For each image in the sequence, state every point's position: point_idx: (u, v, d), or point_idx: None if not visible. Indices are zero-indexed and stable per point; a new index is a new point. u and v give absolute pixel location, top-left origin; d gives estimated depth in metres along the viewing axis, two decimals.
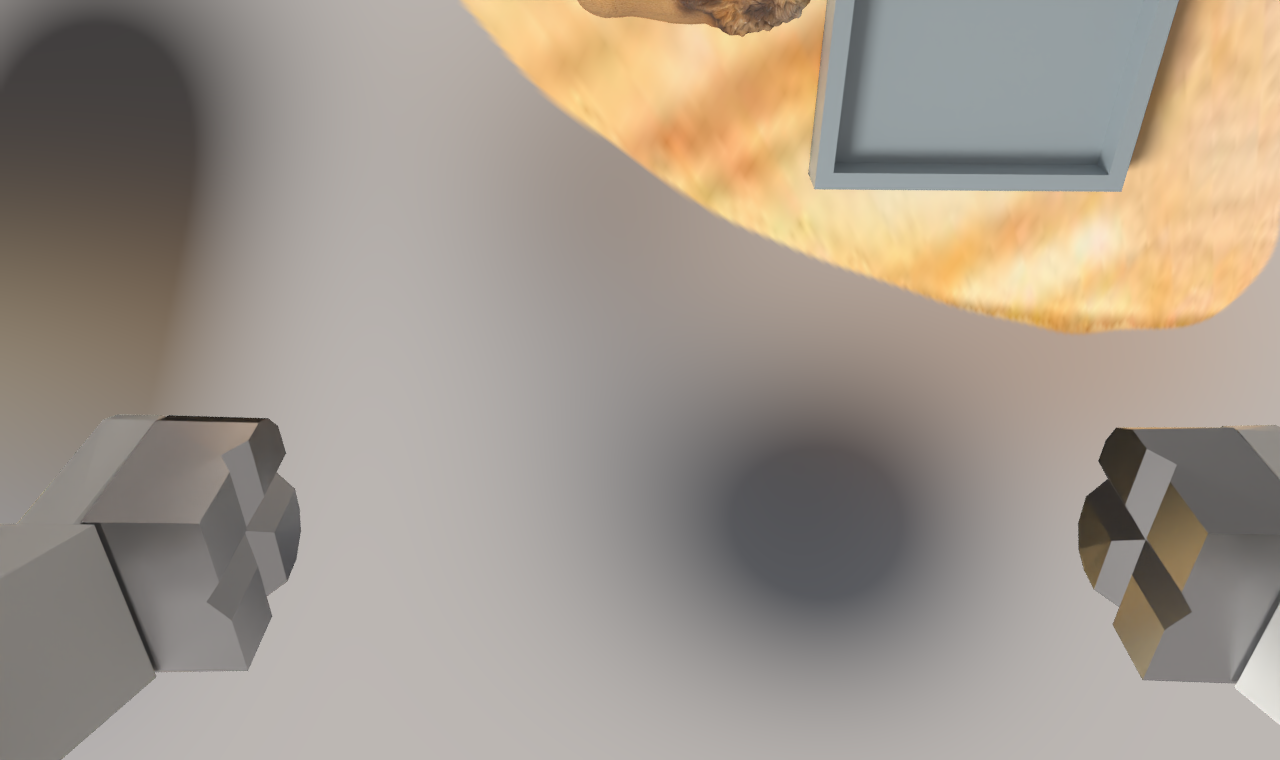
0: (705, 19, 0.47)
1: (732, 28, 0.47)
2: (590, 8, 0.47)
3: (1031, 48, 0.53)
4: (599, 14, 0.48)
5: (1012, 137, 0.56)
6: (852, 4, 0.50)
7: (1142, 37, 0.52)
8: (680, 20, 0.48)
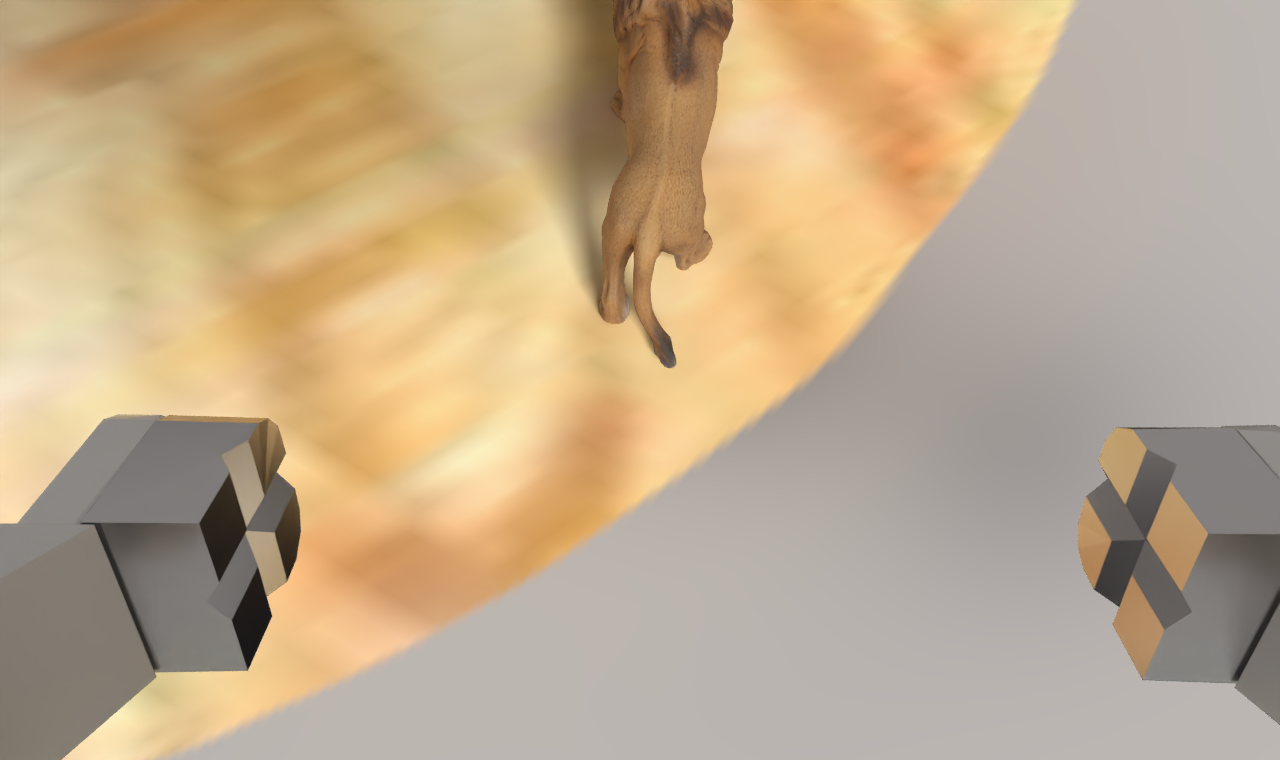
0: (706, 44, 0.30)
1: None
2: (686, 215, 0.29)
3: None
4: (697, 207, 0.30)
5: None
6: None
7: None
8: (709, 88, 0.30)
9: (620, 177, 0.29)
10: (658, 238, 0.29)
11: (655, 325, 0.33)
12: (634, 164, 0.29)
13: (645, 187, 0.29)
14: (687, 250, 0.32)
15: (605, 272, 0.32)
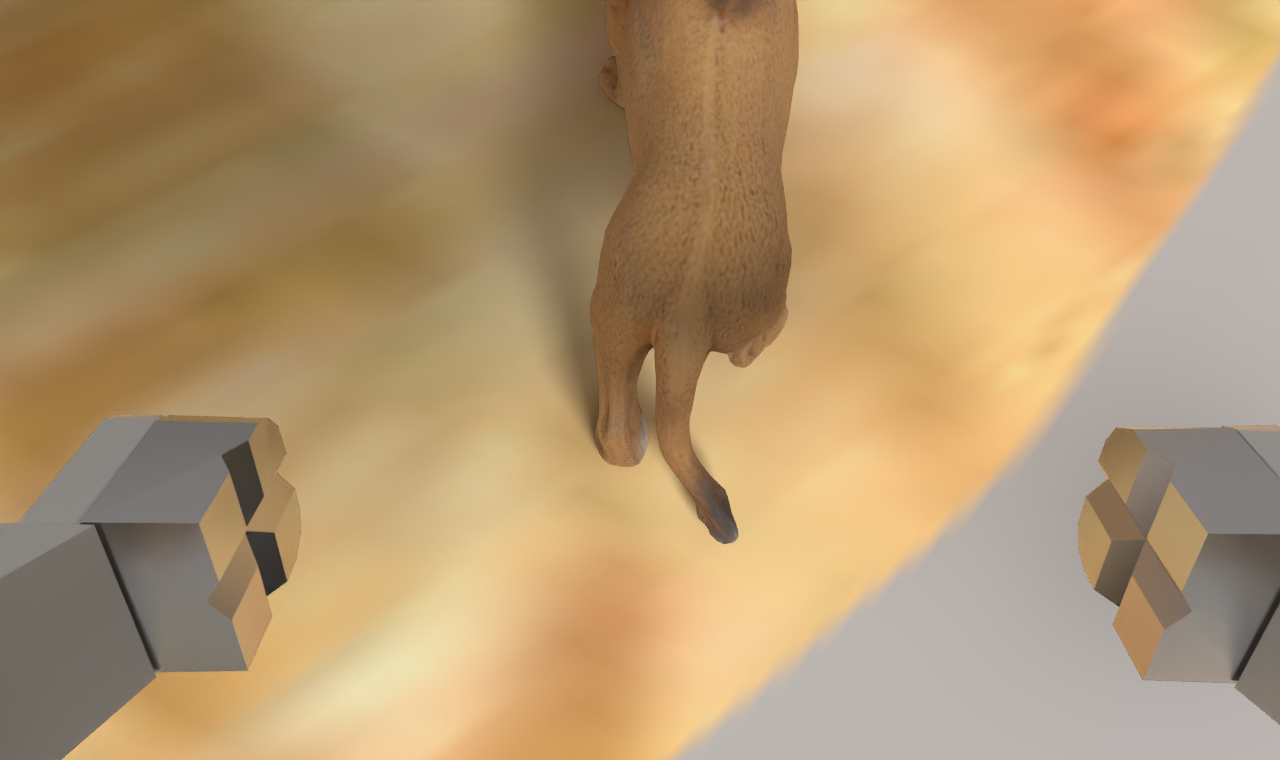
0: None
1: None
2: (760, 283, 0.14)
3: None
4: (779, 263, 0.15)
5: None
6: None
7: None
8: (786, 25, 0.15)
9: (620, 211, 0.14)
10: (704, 332, 0.14)
11: (699, 476, 0.18)
12: (648, 183, 0.14)
13: (673, 230, 0.14)
14: (753, 338, 0.17)
15: (601, 386, 0.17)
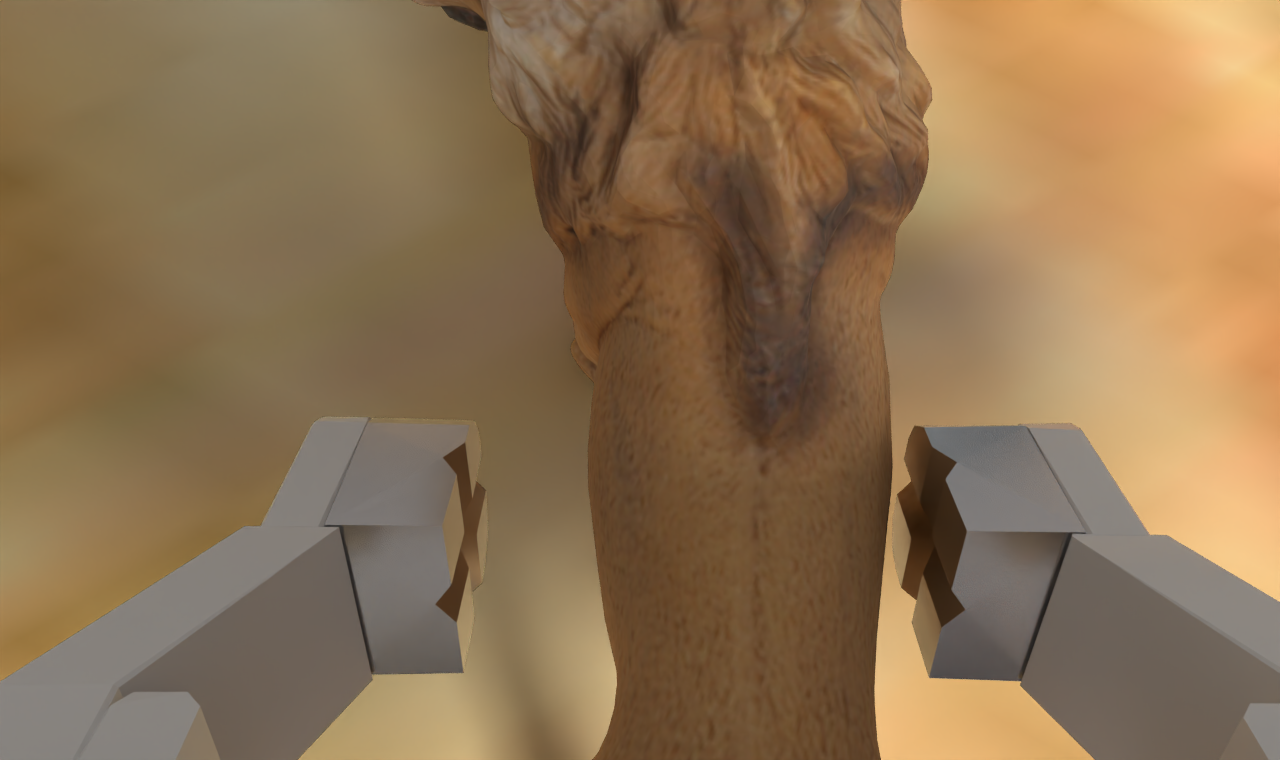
0: (861, 281, 0.08)
1: (895, 111, 0.08)
2: None
3: None
4: None
5: None
6: None
7: None
8: (876, 428, 0.09)
9: None
10: None
11: None
12: None
13: None
14: None
15: None
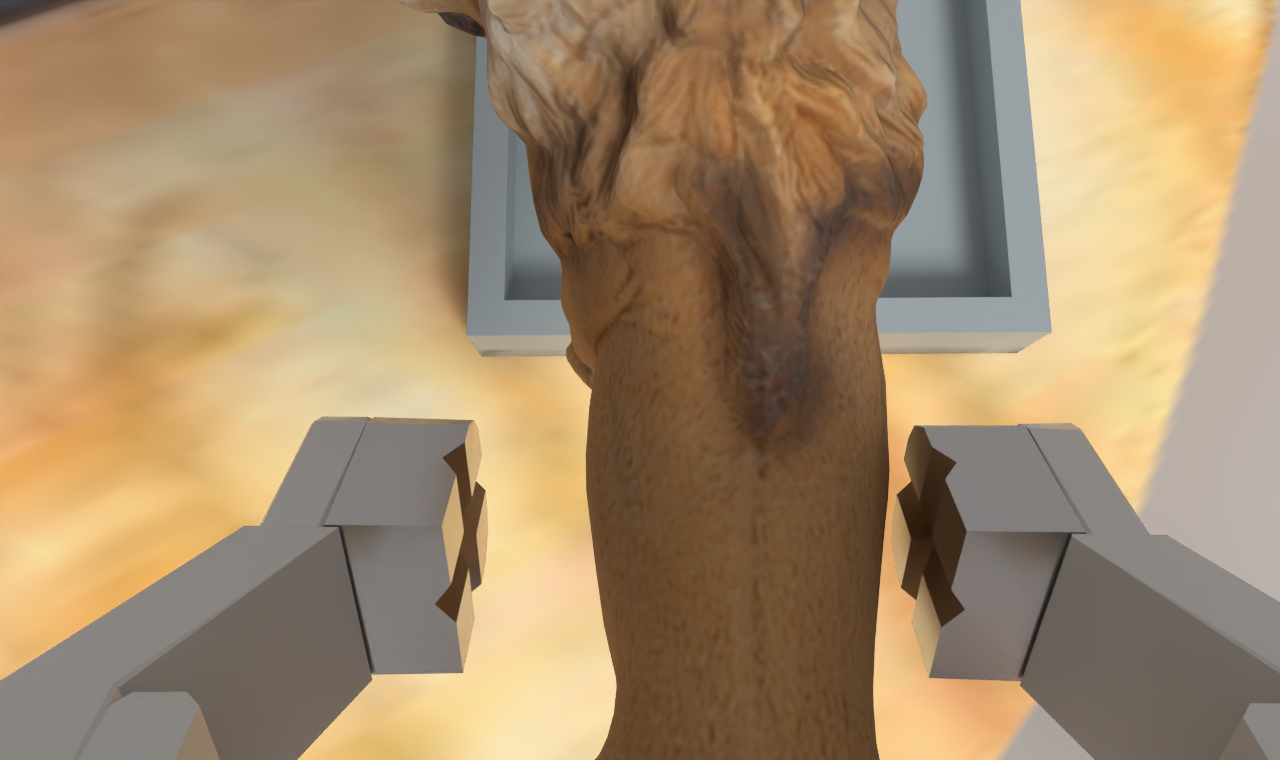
0: (856, 286, 0.09)
1: (892, 116, 0.08)
2: None
3: None
4: None
5: None
6: None
7: None
8: (872, 432, 0.09)
9: None
10: None
11: None
12: None
13: None
14: None
15: None
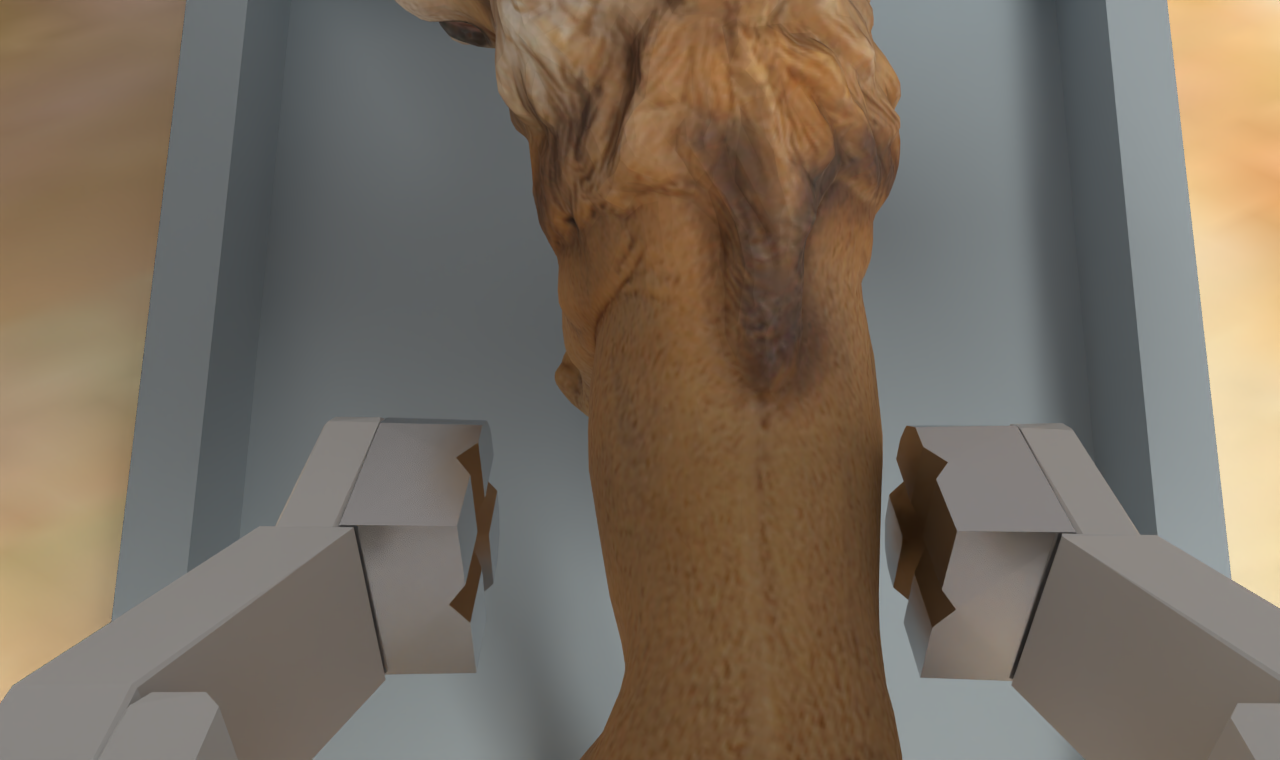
0: (846, 252, 0.09)
1: (871, 94, 0.09)
2: None
3: None
4: None
5: (984, 261, 0.16)
6: None
7: None
8: (866, 392, 0.09)
9: None
10: None
11: None
12: (648, 745, 0.07)
13: None
14: None
15: None
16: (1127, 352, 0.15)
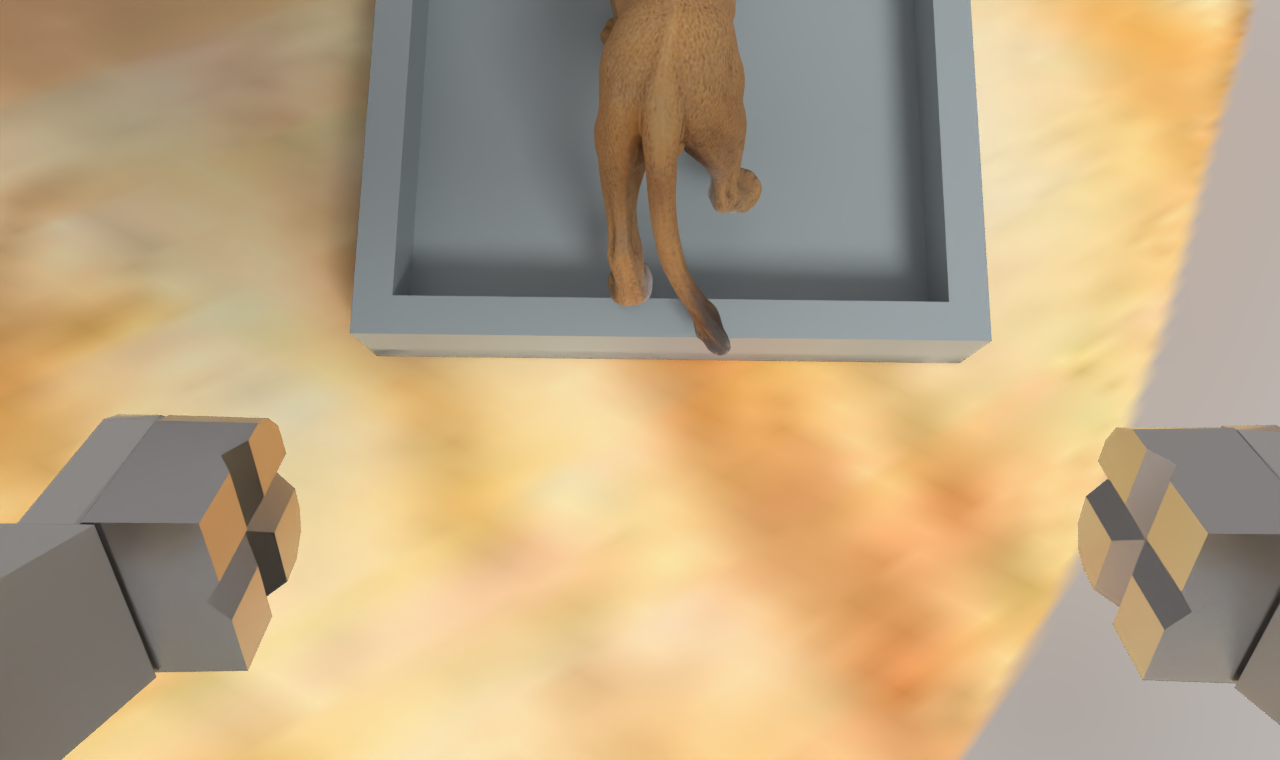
0: None
1: None
2: (717, 72, 0.19)
3: None
4: (732, 67, 0.19)
5: None
6: (577, 300, 0.24)
7: None
8: None
9: (609, 35, 0.19)
10: (677, 108, 0.19)
11: (692, 287, 0.22)
12: (629, 10, 0.19)
13: (648, 32, 0.19)
14: (726, 165, 0.22)
15: (608, 213, 0.22)
16: None
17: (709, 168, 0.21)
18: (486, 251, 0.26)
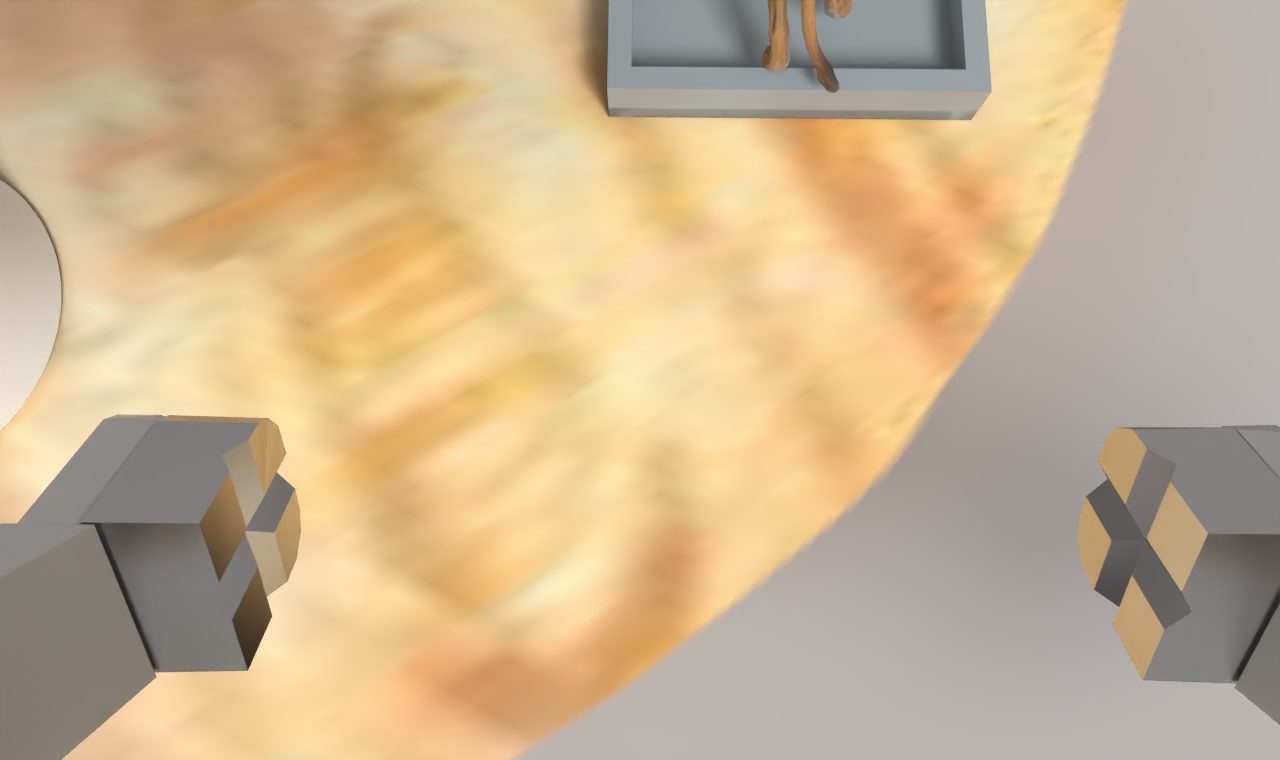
0: None
1: None
2: None
3: None
4: None
5: None
6: (743, 69, 0.40)
7: None
8: None
9: None
10: None
11: (819, 49, 0.38)
12: None
13: None
14: None
15: (771, 5, 0.38)
16: None
17: None
18: (677, 50, 0.42)
